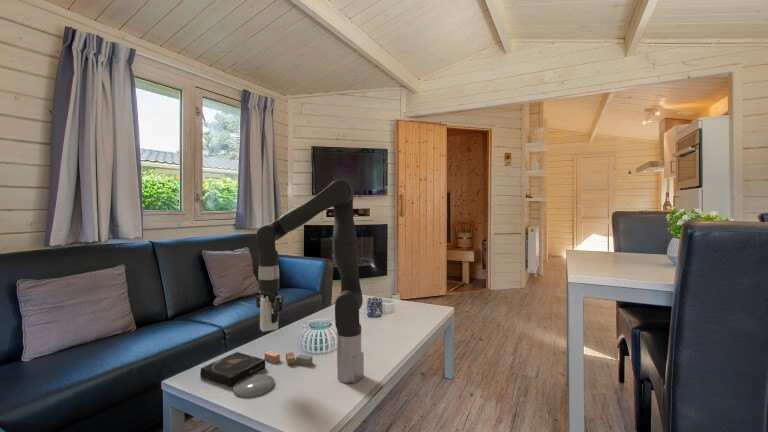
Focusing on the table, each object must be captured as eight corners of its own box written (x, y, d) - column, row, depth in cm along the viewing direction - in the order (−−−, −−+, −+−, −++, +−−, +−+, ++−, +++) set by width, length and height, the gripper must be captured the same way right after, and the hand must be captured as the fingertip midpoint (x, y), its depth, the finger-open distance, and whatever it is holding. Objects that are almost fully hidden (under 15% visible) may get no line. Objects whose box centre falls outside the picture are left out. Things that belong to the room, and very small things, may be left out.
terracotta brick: (279, 360, 148) (279, 353, 148) (274, 363, 145) (274, 356, 145) (270, 357, 151) (270, 350, 151) (264, 360, 149) (264, 353, 149)
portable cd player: (236, 360, 149) (235, 351, 149) (265, 369, 141) (265, 359, 141) (200, 378, 134) (199, 367, 134) (230, 388, 126) (230, 377, 126)
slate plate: (282, 383, 129) (282, 380, 129) (249, 401, 117) (249, 398, 117) (257, 373, 136) (257, 371, 136) (224, 389, 125) (224, 387, 125)
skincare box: (262, 332, 130) (262, 300, 129) (259, 328, 133) (259, 297, 133) (279, 329, 133) (279, 297, 133) (275, 325, 137) (275, 294, 136)
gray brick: (312, 363, 145) (312, 356, 145) (308, 366, 143) (308, 359, 142) (300, 361, 148) (300, 354, 147) (296, 364, 145) (296, 357, 145)
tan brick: (295, 364, 144) (295, 357, 144) (287, 366, 143) (287, 358, 143) (293, 358, 150) (293, 351, 150) (285, 360, 149) (285, 353, 149)
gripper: (289, 277, 132) (289, 321, 132) (265, 273, 140) (265, 314, 140) (273, 281, 125) (273, 327, 126) (248, 276, 133) (248, 320, 134)
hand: (269, 320), depth 133 cm, fingers closed on skincare box, 5 cm apart
